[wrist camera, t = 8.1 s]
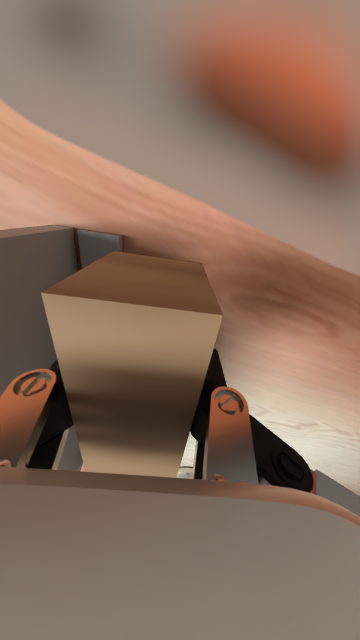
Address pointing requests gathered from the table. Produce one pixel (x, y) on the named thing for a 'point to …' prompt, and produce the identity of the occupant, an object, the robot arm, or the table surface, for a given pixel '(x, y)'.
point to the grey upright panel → (40, 300)
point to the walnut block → (133, 358)
